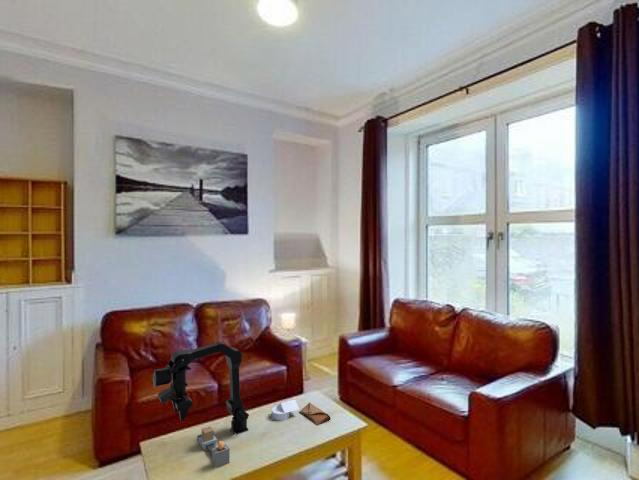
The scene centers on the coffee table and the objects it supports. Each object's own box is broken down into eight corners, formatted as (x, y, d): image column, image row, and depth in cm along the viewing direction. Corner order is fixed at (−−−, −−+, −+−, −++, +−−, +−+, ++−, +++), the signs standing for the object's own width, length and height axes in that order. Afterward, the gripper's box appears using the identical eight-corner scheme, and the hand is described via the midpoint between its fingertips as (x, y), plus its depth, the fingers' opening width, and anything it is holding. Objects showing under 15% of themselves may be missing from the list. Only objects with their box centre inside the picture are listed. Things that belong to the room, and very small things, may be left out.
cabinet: (225, 457, 157) (225, 443, 157) (229, 462, 154) (229, 448, 153) (211, 463, 153) (211, 448, 153) (215, 468, 150) (215, 453, 150)
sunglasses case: (296, 411, 197) (302, 399, 199) (306, 415, 201) (311, 402, 203) (317, 426, 183) (323, 412, 185) (327, 429, 187) (332, 416, 189)
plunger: (222, 447, 155) (222, 440, 155) (224, 450, 153) (224, 443, 153) (217, 449, 154) (217, 442, 153) (219, 452, 152) (219, 444, 152)
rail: (207, 436, 173) (207, 432, 173) (223, 457, 157) (223, 452, 157) (197, 439, 170) (197, 435, 170) (212, 461, 154) (212, 457, 154)
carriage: (212, 439, 170) (212, 424, 170) (217, 445, 165) (217, 430, 165) (198, 443, 166) (198, 428, 166) (202, 450, 162) (202, 435, 161)
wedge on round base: (291, 408, 201) (269, 414, 194) (291, 396, 201) (269, 401, 194) (299, 415, 194) (276, 422, 187) (299, 402, 193) (276, 408, 187)
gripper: (154, 378, 164) (154, 412, 165) (165, 393, 149) (165, 431, 150) (180, 372, 171) (180, 406, 171) (192, 386, 156) (192, 423, 156)
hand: (179, 416), depth 162 cm, fingers open, 9 cm apart
